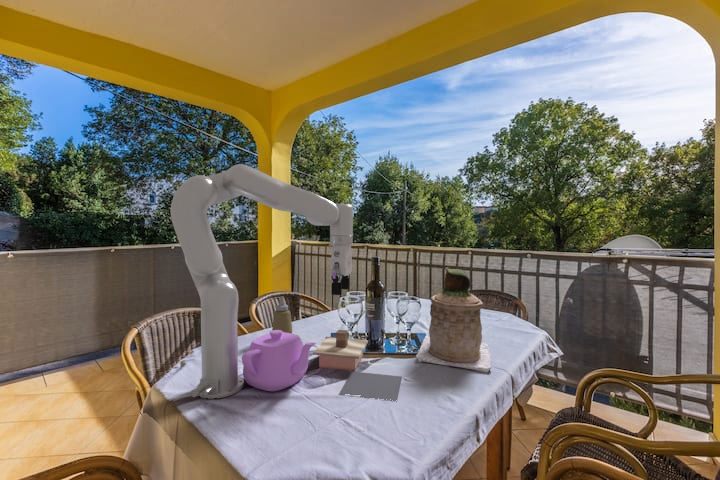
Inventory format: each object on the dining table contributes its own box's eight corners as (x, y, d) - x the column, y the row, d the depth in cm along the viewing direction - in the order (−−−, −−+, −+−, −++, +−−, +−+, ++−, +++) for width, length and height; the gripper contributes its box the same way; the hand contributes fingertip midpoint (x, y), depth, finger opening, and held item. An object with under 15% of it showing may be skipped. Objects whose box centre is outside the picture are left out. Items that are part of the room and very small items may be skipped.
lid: (358, 359, 105) (358, 340, 105) (313, 354, 108) (313, 336, 108) (367, 342, 120) (368, 326, 119) (327, 339, 123) (327, 323, 123)
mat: (396, 403, 89) (396, 401, 89) (338, 396, 92) (338, 394, 92) (402, 377, 103) (402, 376, 103) (351, 372, 107) (351, 371, 107)
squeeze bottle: (290, 344, 131) (289, 298, 130) (269, 344, 131) (269, 298, 130) (294, 337, 139) (294, 294, 138) (275, 337, 139) (274, 294, 138)
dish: (355, 372, 107) (355, 356, 107) (319, 368, 110) (319, 353, 109) (362, 357, 119) (363, 343, 118) (330, 354, 121) (330, 340, 121)
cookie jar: (492, 374, 106) (495, 273, 105) (414, 363, 114) (415, 269, 112) (488, 347, 130) (490, 264, 128) (424, 340, 137) (425, 262, 136)
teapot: (223, 391, 94) (222, 338, 94) (276, 364, 113) (276, 320, 112) (284, 414, 83) (284, 354, 82) (332, 380, 101) (332, 331, 101)
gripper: (345, 242, 103) (344, 297, 104) (358, 240, 120) (357, 287, 121) (322, 241, 105) (321, 296, 105) (338, 239, 122) (337, 286, 122)
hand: (340, 291), depth 113 cm, fingers open, 9 cm apart
